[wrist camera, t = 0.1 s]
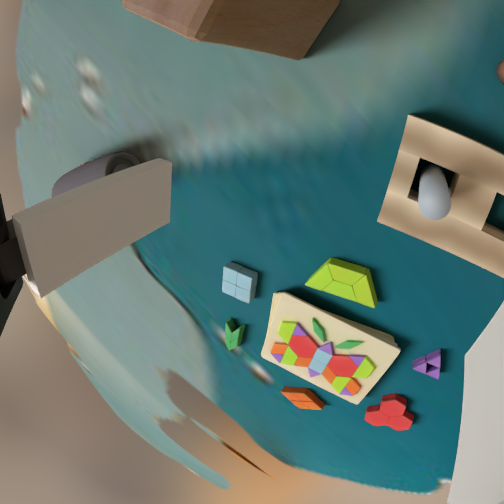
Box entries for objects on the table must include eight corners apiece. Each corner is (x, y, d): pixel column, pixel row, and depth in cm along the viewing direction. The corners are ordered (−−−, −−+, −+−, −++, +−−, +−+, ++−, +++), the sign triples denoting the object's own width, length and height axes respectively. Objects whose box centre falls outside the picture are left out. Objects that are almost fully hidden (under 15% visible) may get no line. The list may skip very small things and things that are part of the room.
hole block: (409, 113, 29) (408, 114, 26) (545, 177, 23) (557, 186, 20) (382, 209, 36) (376, 221, 33) (507, 266, 30) (512, 282, 27)
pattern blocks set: (235, 376, 66) (228, 385, 64) (218, 233, 51) (207, 241, 49) (408, 430, 49) (404, 443, 47) (473, 284, 34) (474, 298, 31)
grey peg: (424, 160, 31) (424, 180, 23) (448, 170, 30) (456, 194, 22) (416, 184, 32) (413, 212, 25) (440, 194, 31) (443, 225, 24)
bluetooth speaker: (142, 142, 50) (94, 155, 43) (155, 193, 54) (111, 213, 46) (81, 166, 63) (44, 180, 55) (92, 205, 66) (57, 222, 58)
